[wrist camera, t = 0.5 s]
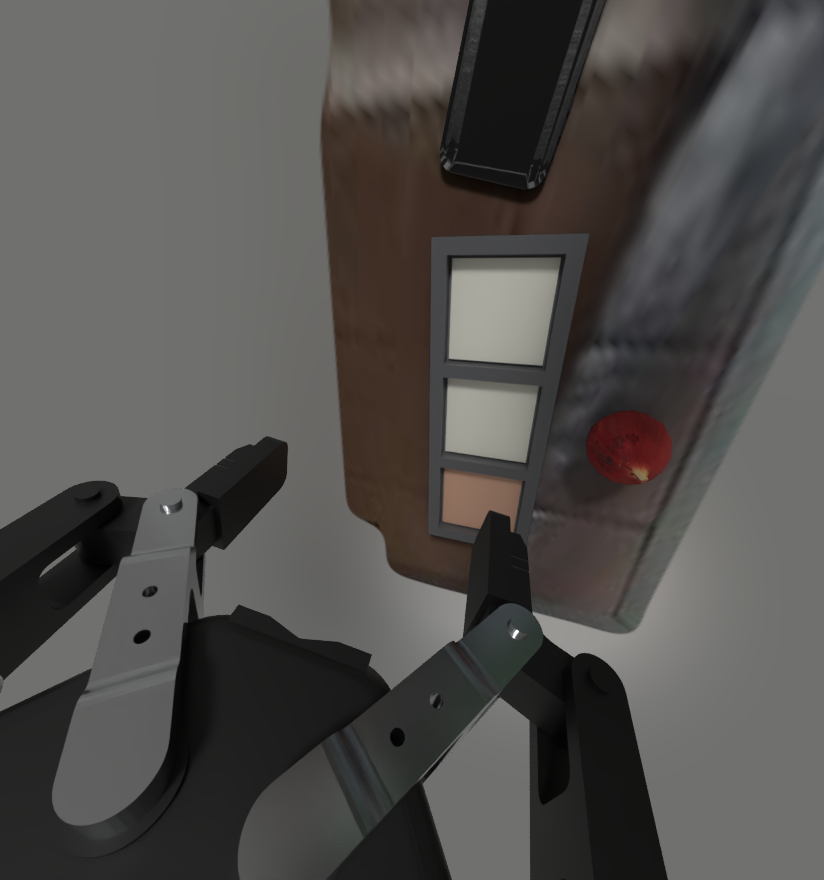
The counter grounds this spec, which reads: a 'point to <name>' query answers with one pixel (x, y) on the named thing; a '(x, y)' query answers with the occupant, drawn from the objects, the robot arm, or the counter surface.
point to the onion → (629, 447)
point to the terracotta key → (478, 497)
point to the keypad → (497, 359)
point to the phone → (515, 87)
